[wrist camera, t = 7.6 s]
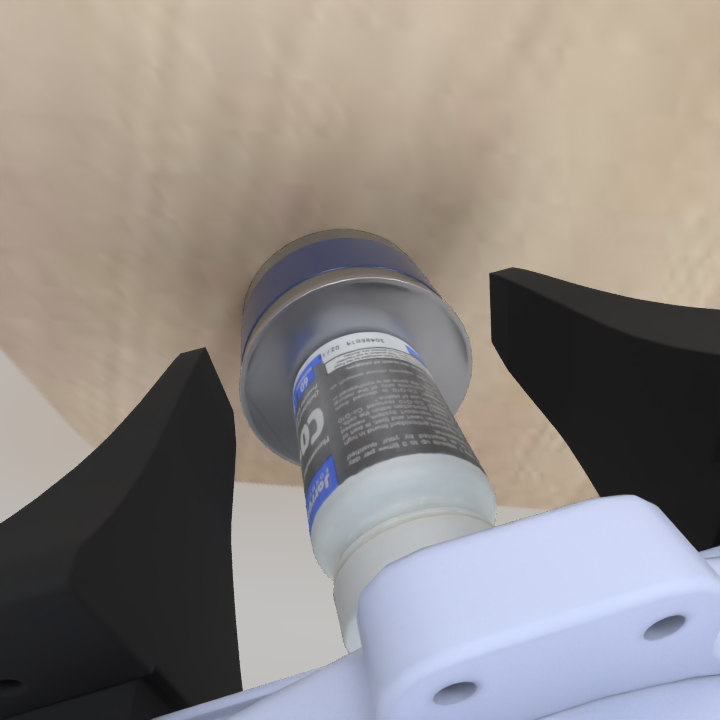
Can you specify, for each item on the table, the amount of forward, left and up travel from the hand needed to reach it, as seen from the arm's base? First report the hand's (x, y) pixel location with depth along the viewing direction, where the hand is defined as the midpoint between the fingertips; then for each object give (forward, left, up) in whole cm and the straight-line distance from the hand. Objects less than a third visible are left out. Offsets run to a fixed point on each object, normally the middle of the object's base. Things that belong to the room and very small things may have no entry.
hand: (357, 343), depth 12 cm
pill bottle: (-2, -3, -3) cm, 5 cm away
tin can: (-2, -3, -8) cm, 9 cm away
